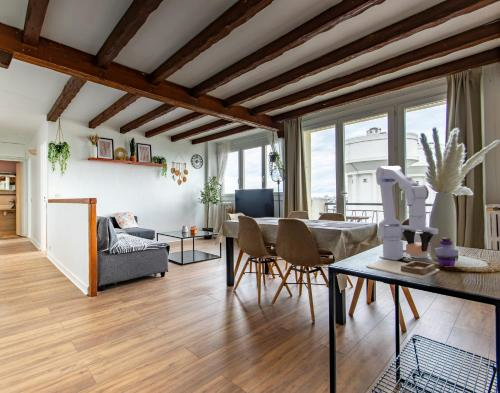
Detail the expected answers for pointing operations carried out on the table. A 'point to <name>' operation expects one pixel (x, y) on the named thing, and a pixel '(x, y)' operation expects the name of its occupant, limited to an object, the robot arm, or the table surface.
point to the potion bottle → (446, 253)
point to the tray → (418, 267)
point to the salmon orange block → (416, 249)
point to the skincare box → (418, 239)
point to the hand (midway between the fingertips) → (417, 250)
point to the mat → (397, 268)
